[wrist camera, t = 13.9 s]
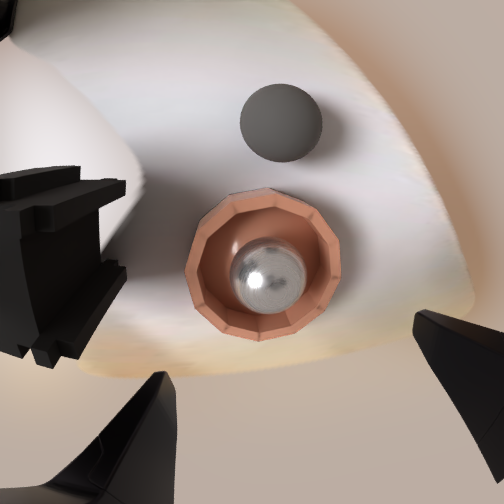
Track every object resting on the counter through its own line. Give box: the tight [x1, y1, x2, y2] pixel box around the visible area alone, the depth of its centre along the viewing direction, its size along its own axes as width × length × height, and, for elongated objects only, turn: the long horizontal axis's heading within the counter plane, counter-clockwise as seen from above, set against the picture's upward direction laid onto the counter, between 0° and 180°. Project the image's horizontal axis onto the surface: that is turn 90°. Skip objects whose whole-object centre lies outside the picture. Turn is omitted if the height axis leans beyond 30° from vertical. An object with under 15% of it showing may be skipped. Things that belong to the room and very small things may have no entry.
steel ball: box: [229, 236, 307, 314], centre depth 15 cm, size 4×4×4 cm
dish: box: [184, 188, 341, 341], centre depth 16 cm, size 8×8×2 cm
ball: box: [240, 84, 322, 162], centre depth 13 cm, size 4×4×4 cm
